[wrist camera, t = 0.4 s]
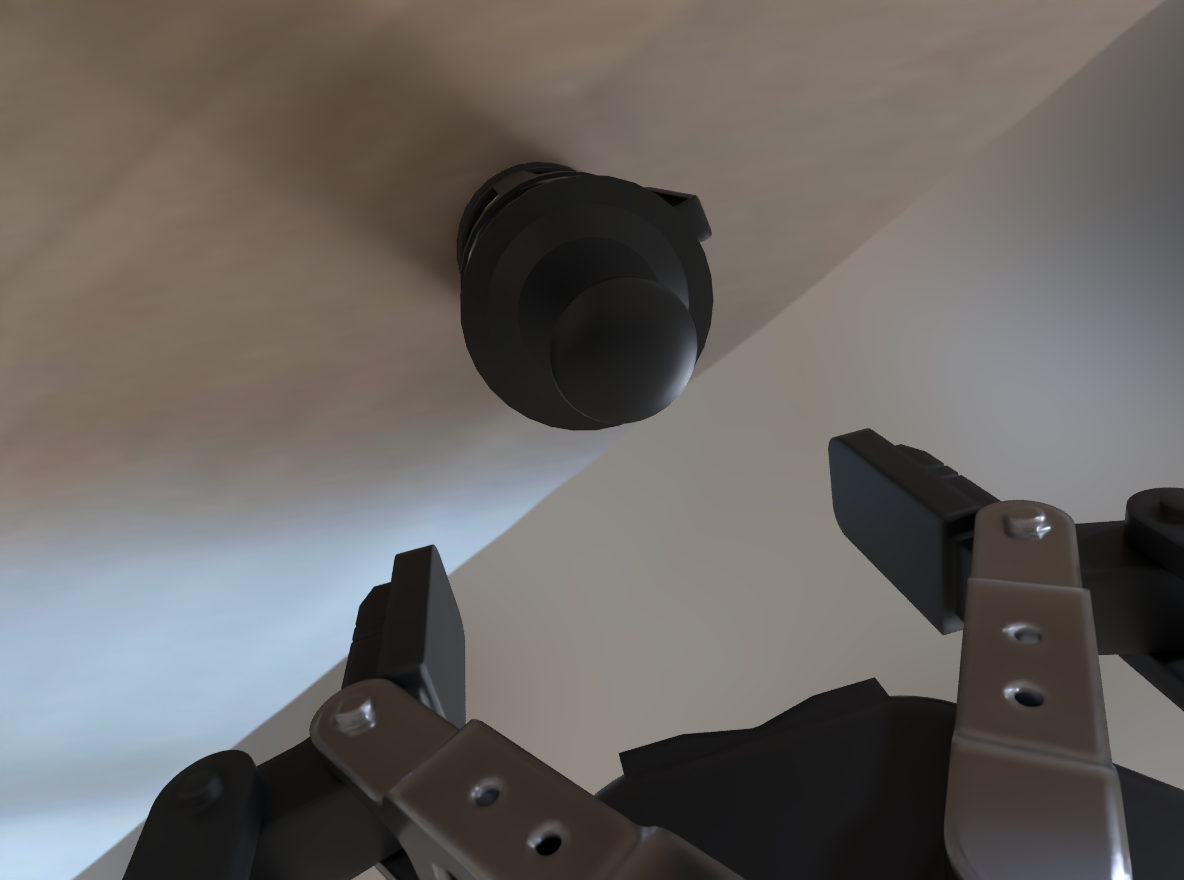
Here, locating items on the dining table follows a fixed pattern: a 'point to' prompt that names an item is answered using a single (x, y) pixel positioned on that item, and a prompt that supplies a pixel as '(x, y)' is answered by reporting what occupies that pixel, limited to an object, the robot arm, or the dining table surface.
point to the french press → (583, 294)
